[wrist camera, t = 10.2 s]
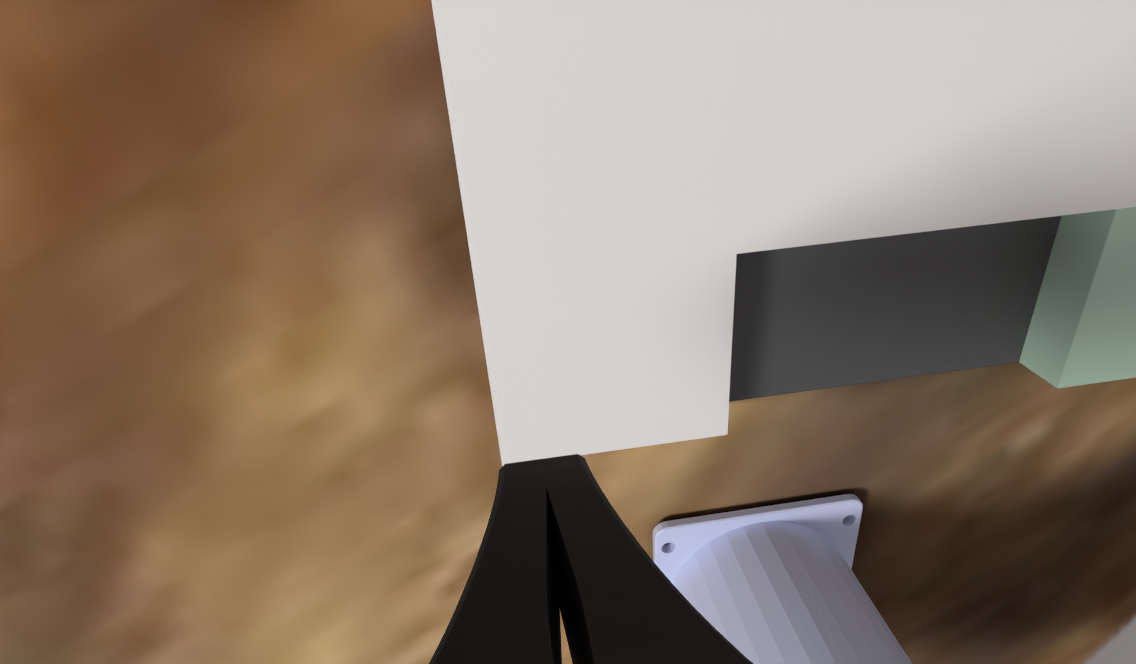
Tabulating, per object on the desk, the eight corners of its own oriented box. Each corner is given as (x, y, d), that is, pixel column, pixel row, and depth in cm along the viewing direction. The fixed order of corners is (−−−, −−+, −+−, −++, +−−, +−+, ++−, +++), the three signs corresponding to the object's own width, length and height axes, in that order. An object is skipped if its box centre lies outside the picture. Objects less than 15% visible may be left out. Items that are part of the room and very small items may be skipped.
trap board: (1220, 329, 24) (1280, 357, 22) (500, 426, 22) (502, 466, 20) (1585, -484, 14) (1742, -550, 13) (369, -447, 12) (352, -520, 10)
